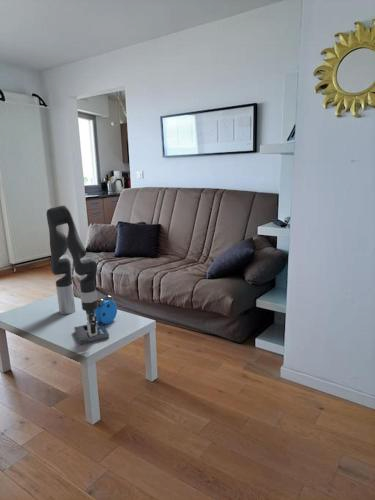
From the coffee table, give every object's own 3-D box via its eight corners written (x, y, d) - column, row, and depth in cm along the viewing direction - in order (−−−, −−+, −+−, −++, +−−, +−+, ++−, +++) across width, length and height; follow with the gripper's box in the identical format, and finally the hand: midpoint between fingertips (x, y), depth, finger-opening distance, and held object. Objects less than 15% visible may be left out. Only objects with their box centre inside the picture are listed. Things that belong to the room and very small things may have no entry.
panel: (74, 332, 182) (74, 327, 182) (101, 326, 189) (100, 321, 188) (80, 346, 168) (80, 340, 167) (109, 339, 174) (108, 333, 173)
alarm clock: (110, 317, 200) (108, 292, 197) (118, 319, 197) (116, 294, 194) (93, 326, 190) (90, 300, 186) (101, 328, 186) (99, 302, 183)
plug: (88, 336, 175) (86, 320, 173) (96, 334, 177) (94, 318, 175) (89, 339, 171) (88, 323, 169) (98, 338, 173) (96, 321, 171)
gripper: (78, 296, 174) (82, 328, 178) (84, 305, 162) (87, 339, 165) (93, 293, 177) (96, 324, 181) (100, 302, 165) (103, 335, 169)
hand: (92, 331), depth 173 cm, fingers closed on plug, 4 cm apart
